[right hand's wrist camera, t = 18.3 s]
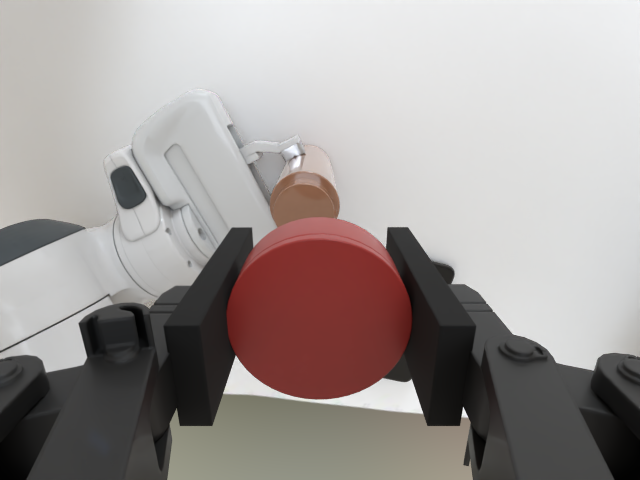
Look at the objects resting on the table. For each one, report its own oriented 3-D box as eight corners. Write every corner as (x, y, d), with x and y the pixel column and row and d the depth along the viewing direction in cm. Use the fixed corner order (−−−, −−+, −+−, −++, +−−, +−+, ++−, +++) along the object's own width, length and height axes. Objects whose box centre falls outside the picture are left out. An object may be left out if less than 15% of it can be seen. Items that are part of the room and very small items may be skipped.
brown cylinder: (286, 188, 39) (266, 247, 23) (286, 144, 37) (265, 175, 22) (330, 190, 39) (339, 249, 23) (332, 145, 37) (343, 177, 22)
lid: (432, 283, 12) (452, 315, 10) (328, 382, 13) (329, 427, 11) (307, 181, 11) (305, 197, 9) (208, 301, 12) (188, 336, 10)
